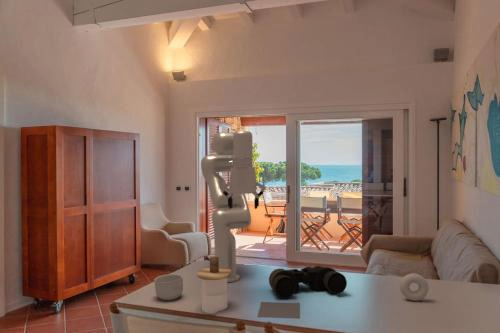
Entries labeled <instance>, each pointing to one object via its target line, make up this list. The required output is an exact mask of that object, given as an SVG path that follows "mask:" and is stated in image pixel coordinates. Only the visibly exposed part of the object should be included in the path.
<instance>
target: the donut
mask: <svg viewBox="0 0 500 333" xmlns="http://www.w3.org/2000/svg"><path fill="white" fill-rule="evenodd" d="M399 283H400V284H399V289H400V293H401V294H402V296H404V298H406V299H408V300H409V301H412V302H413V301H414V302H418V301H421V300H423V299H424V298H426V297H427V295H428V293H429V288H430V287H429V284H428V281H427V280H426V279H425V278H424V276H422V275H420V274H419V273H413V272H412V273H408V274H406V275H404V276H403V277H402V278H401V280H400V282H399ZM412 284H416V285H418V289H417V290H415V291H414V290H412V289H410V288H411V287H410V286H411V285H412Z"/></svg>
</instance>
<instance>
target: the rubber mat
mask: <svg viewBox="0 0 500 333" xmlns="http://www.w3.org/2000/svg"><path fill="white" fill-rule="evenodd" d="M256 317H257V318H275V319H277V318H278V319H299V320H300V319H301V303H300V302H281V301H280V302H277V301H275V302H272V301H261V302H260V305H259V309H258V313H257V316H256Z"/></svg>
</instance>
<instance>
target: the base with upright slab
mask: <svg viewBox="0 0 500 333" xmlns="http://www.w3.org/2000/svg"><path fill="white" fill-rule="evenodd" d="M227 308H228V282H227V278H225V279H221V280H204V279H201V310H202V312H204V313H206V314H213V315H214V314H218V312H219V311H220V312H221V311H223V310H225V309H227Z"/></svg>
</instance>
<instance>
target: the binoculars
mask: <svg viewBox="0 0 500 333" xmlns="http://www.w3.org/2000/svg"><path fill="white" fill-rule="evenodd" d="M268 283H269V286H270V288H271V289H272V291H273V292H274V294H275V295H277V296H278V297H280V298H281V299H289V298H292V296H293V295H296V294H297V293H298V291H299V289H300V284H304V285H309V287H311V288H312V289H314V290H315V291H316V292H318V293H320V292H322V293H323V292H327V293H328V292H329V293H333V294H338V295H339V294H341V293H343V292H344V291H345V290H346V288H347V284H348V283H347V278H346V276H345V275H344V274H342V273H341V272H339V271H337V270H335V269H334V268H332V267H327V266H323V265H316V266H305V267H304V268H301V269H300V270H299V269H297V268H294V269H284V268H276V269H273V271H272V272H271V273H270V274H269V277H268Z"/></svg>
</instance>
